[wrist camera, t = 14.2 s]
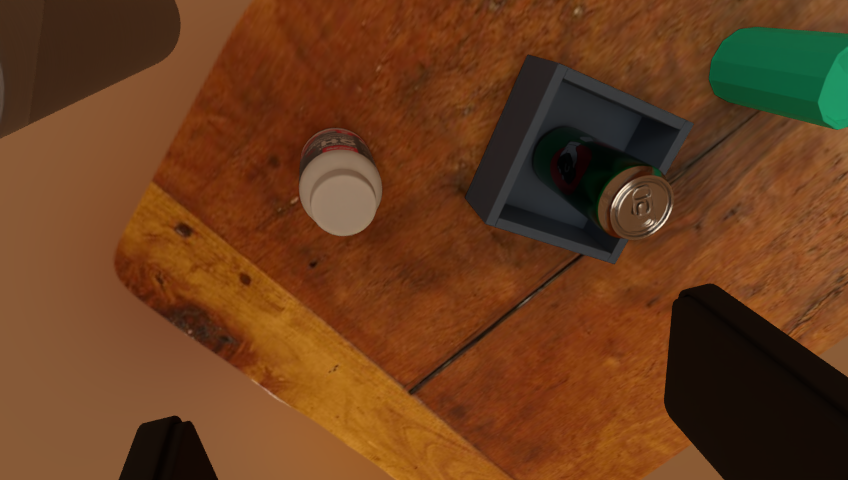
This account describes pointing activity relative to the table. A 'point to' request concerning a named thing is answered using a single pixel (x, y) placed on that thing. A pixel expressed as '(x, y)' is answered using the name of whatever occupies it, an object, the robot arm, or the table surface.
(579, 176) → the soda can
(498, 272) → the table surface
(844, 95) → the candle
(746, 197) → the table surface
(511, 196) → the bin
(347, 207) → the pill bottle
